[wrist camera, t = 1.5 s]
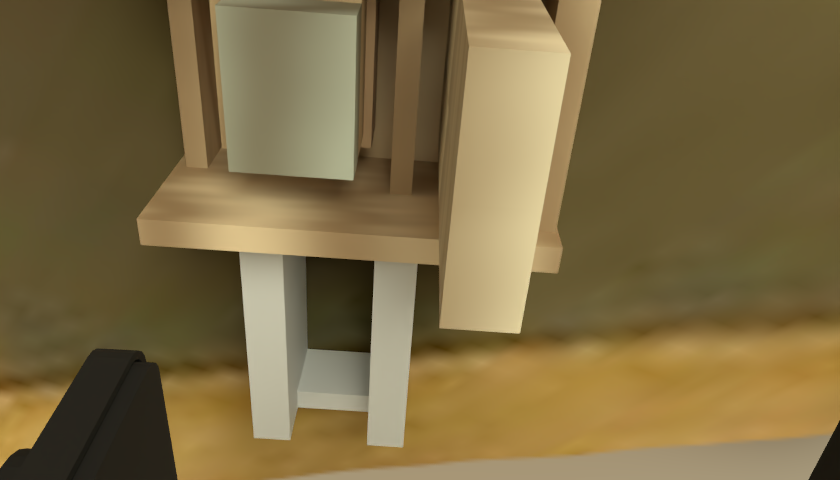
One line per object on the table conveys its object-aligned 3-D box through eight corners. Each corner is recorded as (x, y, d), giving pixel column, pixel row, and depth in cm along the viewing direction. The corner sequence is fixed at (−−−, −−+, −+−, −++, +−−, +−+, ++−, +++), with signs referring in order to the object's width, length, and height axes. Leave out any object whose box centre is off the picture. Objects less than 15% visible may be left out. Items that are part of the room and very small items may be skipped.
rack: (583, -116, 24) (633, -92, 18) (533, 180, 29) (557, 273, 24) (169, -148, 23) (78, -135, 17) (201, 156, 29) (141, 244, 23)
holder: (421, 187, 30) (418, 249, 26) (407, 370, 35) (402, 447, 31) (266, 176, 30) (237, 237, 25) (276, 362, 35) (253, 437, 31)
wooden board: (513, -49, 24) (570, 53, 14) (488, 140, 28) (519, 333, 17) (455, -54, 24) (469, 46, 14) (438, 136, 27) (439, 328, 17)
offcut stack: (382, -53, 24) (368, -21, 19) (375, 127, 27) (362, 192, 23) (235, -64, 24) (186, -35, 19) (247, 118, 27) (208, 181, 23)
